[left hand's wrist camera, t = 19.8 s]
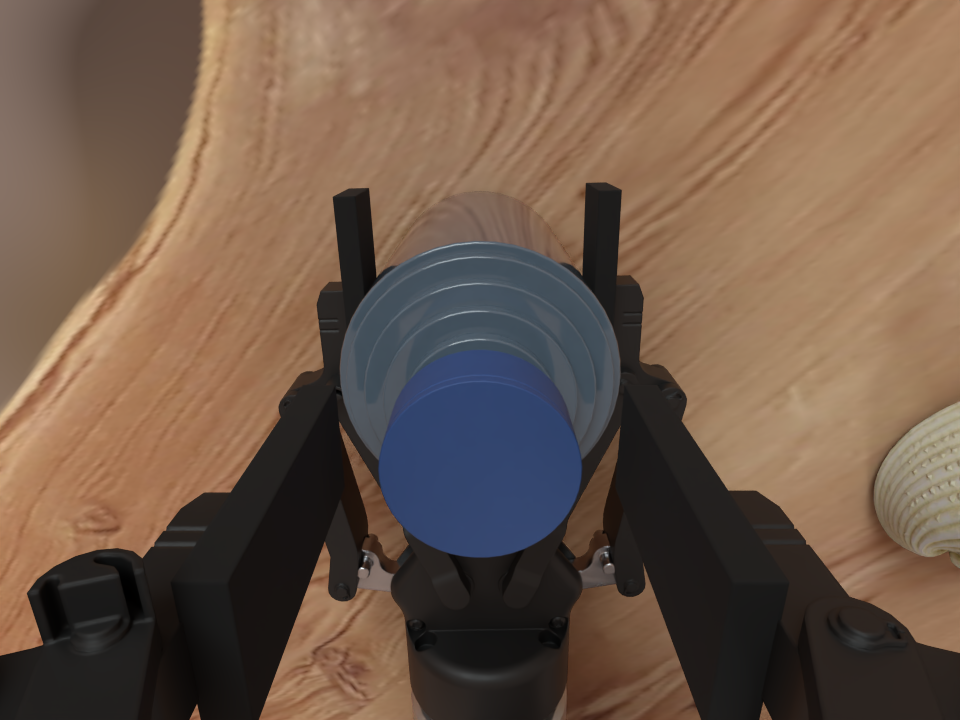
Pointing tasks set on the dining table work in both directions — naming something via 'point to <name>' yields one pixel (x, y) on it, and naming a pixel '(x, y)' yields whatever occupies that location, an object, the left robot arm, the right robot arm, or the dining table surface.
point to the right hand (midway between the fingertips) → (477, 189)
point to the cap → (480, 455)
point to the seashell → (923, 487)
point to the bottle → (480, 313)
